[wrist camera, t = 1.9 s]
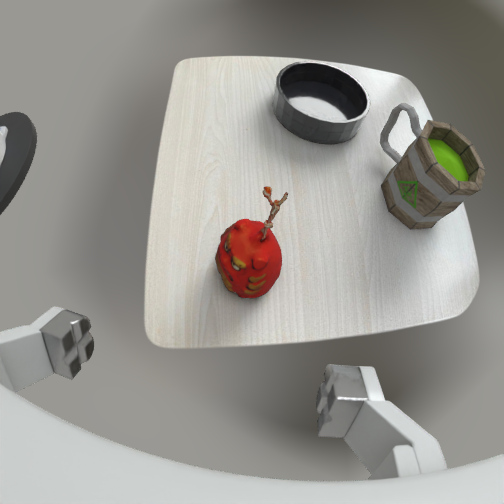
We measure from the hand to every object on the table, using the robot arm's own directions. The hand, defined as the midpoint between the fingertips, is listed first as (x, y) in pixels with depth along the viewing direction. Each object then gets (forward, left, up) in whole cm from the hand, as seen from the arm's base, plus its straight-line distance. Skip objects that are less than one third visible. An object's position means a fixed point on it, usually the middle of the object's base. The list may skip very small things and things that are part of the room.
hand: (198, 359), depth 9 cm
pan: (0, +39, -24) cm, 46 cm away
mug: (+16, +31, -25) cm, 43 cm away
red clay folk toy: (-1, +10, -25) cm, 27 cm away
